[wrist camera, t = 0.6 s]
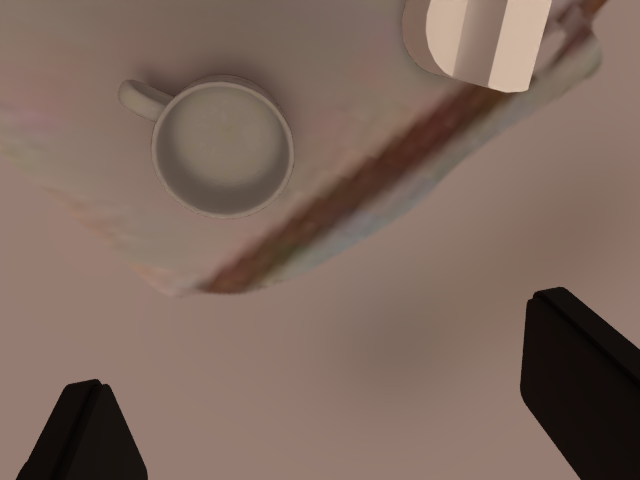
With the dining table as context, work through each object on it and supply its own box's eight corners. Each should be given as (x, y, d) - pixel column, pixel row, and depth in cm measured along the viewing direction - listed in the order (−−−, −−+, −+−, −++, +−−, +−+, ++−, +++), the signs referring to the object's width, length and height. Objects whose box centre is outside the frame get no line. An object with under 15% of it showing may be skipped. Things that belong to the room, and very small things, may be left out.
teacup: (310, 130, 43) (323, 151, 36) (234, 211, 45) (232, 247, 38) (189, 12, 37) (175, 10, 30) (109, 112, 40) (78, 131, 32)
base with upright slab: (485, 79, 43) (565, 97, 32) (393, 70, 42) (445, 86, 31) (511, -31, 39) (610, -52, 29) (411, -45, 38) (477, -73, 27)
